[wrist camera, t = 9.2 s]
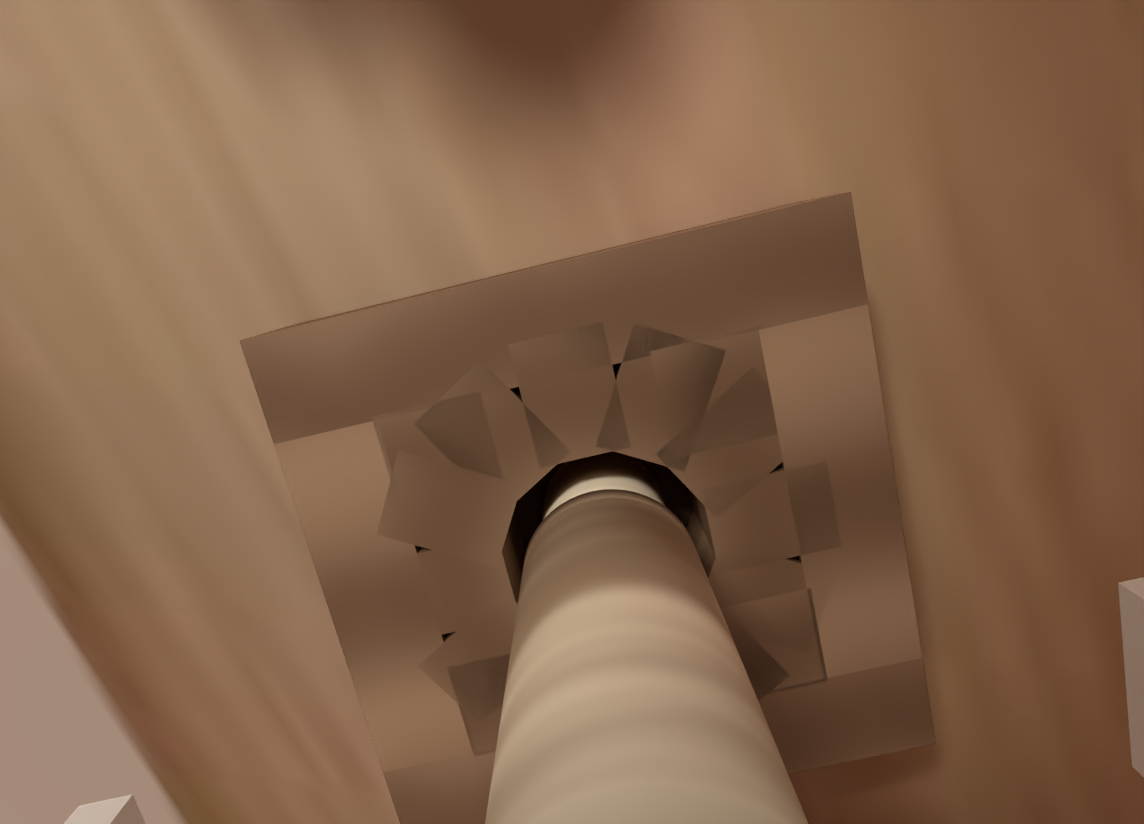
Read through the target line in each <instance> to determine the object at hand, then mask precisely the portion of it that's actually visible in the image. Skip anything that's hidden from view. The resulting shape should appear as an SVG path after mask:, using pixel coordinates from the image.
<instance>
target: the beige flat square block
mask: <svg viewBox="0 0 1144 824" xmlns="http://www.w3.org/2000/svg"><path fill="white" fill-rule="evenodd" d="M240 344H241V347H242V350H243V353H244V356H245V359H246V362H247V365H248V368H249V371H250V374H251V377H252V380H253V383H254V386H255V389H256V392H257V395H258V398H259V401H260V404H261V407H262V410H263V413H264V416H265V419H266V422H267V425H268V428H269V431H270V434H271V437H272V440H273V443H274V446H275V449H276V452H277V455H278V458H279V461H280V464H281V467H282V470H283V473H284V476H285V479H286V482H287V485H288V488H289V491H290V494H291V497H292V500H293V503H294V506H295V509H296V512H297V515H298V518H299V521H300V524H301V527H302V530H303V533H304V536H305V539H306V542H307V545H308V548H309V551H310V554H311V557H312V560H313V563H314V566H315V569H316V572H317V575H318V578H319V581H320V584H321V587H322V590H323V593H324V596H325V599H326V602H327V605H328V608H329V611H330V614H331V617H332V620H333V623H334V626H335V629H336V632H337V635H338V638H339V641H340V644H341V647H342V650H343V653H344V656H345V659H346V662H347V665H348V668H349V671H350V674H351V677H352V680H353V683H354V686H355V689H356V692H357V695H358V698H359V701H360V704H361V707H362V710H363V713H364V716H365V719H366V722H367V725H368V728H369V731H370V734H371V737H372V740H373V743H374V746H375V749H376V752H377V755H378V758H379V761H380V764H381V767H382V770H383V773H384V776H385V779H386V782H387V785H388V788H389V791H390V794H391V797H392V800H393V803H394V806H395V809H396V812H397V815H398V818H399V821H400V824H485V820H486V813H487V807H488V800H489V793H490V787H491V780H492V773H493V767H494V760H495V753H496V746H497V740H498V733H499V726H500V720H501V713H502V706H503V700H504V693H505V686H506V680H507V673H508V666H509V660H510V653H511V646H512V639H513V633H514V626H515V619H516V613H517V606H518V599H519V593H520V586H521V579H522V573H523V566H524V559H525V555H526V551H527V549H526V548H525V547H524V545H523V541H522V537H521V534H520V530H519V526H518V522H517V519H516V515H515V511H514V509H515V505H516V502H517V500H519V499H520V498H521V497H522V496H523V495H524V494H525V493H526V492H527V491H528V490H530V489H531V488H532V487H533V486H534V485H535V484H536V483H537V482H538V481H539V480H540V479H542V478H543V477H544V476H545V475H546V474H547V473H548V472H549V471H550V470H551V469H553V468H554V467H555V466H556V465H557V464H559V463H564V462H568V461H572V460H577V459H581V458H585V457H590V456H594V455H598V454H603V453H607V452H611V451H614V452H618V453H621V454H625V455H628V456H632V457H635V458H639V459H642V460H646V461H649V462H653V463H656V464H660V465H663V466H666V467H668V468H669V469H670V470H671V471H672V472H673V473H674V474H675V475H676V476H677V477H678V478H679V479H680V480H681V481H682V483H683V484H684V485H685V486H686V487H687V488H688V489H689V492H690V496H691V501H692V506H693V510H692V513H691V516H690V519H689V522H688V524H687V527H686V529H687V531H688V532H689V534H690V536H691V539H692V541H693V543H694V546H695V548H696V550H697V553H698V555H699V558H700V560H701V563H702V565H703V568H704V570H705V572H706V575H707V577H708V580H709V582H710V585H711V587H712V590H713V592H714V594H715V597H716V599H717V602H718V604H719V607H720V609H721V612H722V614H723V616H724V619H725V621H726V624H727V626H728V629H729V631H730V633H731V636H732V638H733V641H734V643H735V646H736V648H737V651H738V653H739V655H740V658H741V660H742V663H743V665H744V668H745V670H746V673H747V675H748V677H749V680H750V682H751V685H752V687H753V690H754V692H755V695H756V697H757V699H758V702H759V704H760V707H761V709H762V712H763V714H764V717H765V719H766V721H767V724H768V726H769V729H770V731H771V734H772V736H773V739H774V741H775V743H776V746H777V748H778V751H779V753H780V756H781V758H782V761H783V763H784V765H785V768H786V770H787V773H788V774H793V773H798V772H802V771H807V770H812V769H817V768H822V767H827V766H831V765H836V764H841V763H846V762H851V761H856V760H860V759H865V758H870V757H875V756H880V755H885V754H889V753H894V752H899V751H904V750H909V749H914V748H918V747H923V746H928V745H933V744H936V742H935V736H934V729H933V723H932V716H931V710H930V703H929V697H928V690H927V684H926V677H925V671H924V664H923V658H922V651H921V645H920V638H919V632H918V625H917V619H916V612H915V606H914V599H913V593H912V586H911V580H910V573H909V567H908V561H907V554H906V548H905V541H904V535H903V528H902V522H901V515H900V509H899V502H898V496H897V489H896V483H895V476H894V470H893V463H892V457H891V450H890V444H889V437H888V431H887V424H886V418H885V411H884V405H883V398H882V392H881V385H880V379H879V372H878V366H877V359H876V353H875V346H874V340H873V333H872V327H871V320H870V314H869V307H868V301H867V294H866V288H865V281H864V275H863V268H862V262H861V255H860V249H859V242H858V236H857V229H856V223H855V216H854V210H853V203H852V197H851V192H848V193H843V194H838V195H833V196H827V197H822V198H817V199H811V200H806V201H801V202H797V203H793V204H789V205H785V206H781V207H777V208H772V209H768V210H764V211H760V212H756V213H752V214H748V215H744V216H740V217H735V218H731V219H727V220H723V221H719V222H715V223H711V224H707V225H703V226H698V227H694V228H690V229H686V230H682V231H678V232H674V233H670V234H666V235H661V236H657V237H653V238H649V239H645V240H641V241H637V242H633V243H629V244H624V245H620V246H616V247H612V248H608V249H604V250H600V251H596V252H592V253H587V254H583V255H579V256H575V257H571V258H567V259H563V260H559V261H554V262H550V263H546V264H542V265H538V266H534V267H530V268H526V269H522V270H517V271H513V272H509V273H505V274H501V275H497V276H493V277H489V278H485V279H480V280H476V281H472V282H468V283H464V284H460V285H456V286H452V287H448V288H443V289H439V290H435V291H431V292H427V293H423V294H419V295H415V296H411V297H406V298H402V299H398V300H394V301H390V302H386V303H382V304H378V305H374V306H369V307H365V308H361V309H357V310H353V311H349V312H345V313H341V314H337V315H332V316H328V317H324V318H320V319H316V320H312V321H308V322H304V323H299V324H295V325H292V326H288V327H285V328H281V329H278V330H274V331H271V332H267V333H264V334H261V335H257V336H254V337H250V338H247V339H243V340H240Z"/></svg>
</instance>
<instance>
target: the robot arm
mask: <svg viewBox="0 0 1144 824" xmlns="http://www.w3.org/2000/svg"><path fill="white" fill-rule="evenodd" d="M1118 587H1119V601H1120V614H1121V627H1122V641H1123V654H1124V667H1125V681H1126V694H1127V707H1128V721H1129V734H1130V747H1131V761H1132V767H1133V768H1134V769H1135V770H1136V771H1137V772H1138V773H1139V774H1141V775H1142V776H1143V777H1144V577H1142V578H1138V579H1133V580H1128V581H1124V582H1119V583H1118ZM64 824H145V821H144V819H143V817H142V815H141V812H140V810H139V808H138V805H137V803H136V801H135V799H134V796H133V794H132V795H127V796H123V797H118V798H113V799H109V800H104V801H100V802H95V803H90V804H85V805H81V806H78V807H77V809H76V810H75V811H74V812H73V814H72V815H71V816H70V817H69V818H68V820H67V821H66V822H65V823H64Z"/></svg>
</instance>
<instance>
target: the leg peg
mask: <svg viewBox="0 0 1144 824" xmlns="http://www.w3.org/2000/svg"><path fill="white" fill-rule="evenodd" d="M485 824H808V822H807V819H806V817H805V814H804V812H803V809H802V807H801V804H800V802H799V800H798V797H797V795H796V792H795V790H794V787H793V785H792V782H791V780H790V778H789V775H788V773H787V770H786V768H785V765H784V763H783V761H782V758H781V756H780V753H779V751H778V748H777V746H776V743H775V741H774V739H773V736H772V734H771V731H770V729H769V726H768V724H767V721H766V719H765V717H764V714H763V712H762V709H761V707H760V704H759V702H758V699H757V697H756V695H755V692H754V690H753V687H752V685H751V682H750V680H749V677H748V675H747V673H746V670H745V668H744V665H743V663H742V660H741V658H740V655H739V653H738V651H737V648H736V646H735V643H734V641H733V638H732V636H731V633H730V631H729V629H728V626H727V624H726V621H725V619H724V616H723V614H722V612H721V609H720V607H719V604H718V602H717V599H716V597H715V594H714V592H713V590H712V587H711V585H710V582H709V580H708V577H707V575H706V572H705V570H704V568H703V565H702V563H701V560H700V558H699V555H698V553H697V550H696V548H695V546H694V543H693V541H692V539H691V536H690V534H689V532H688V531H687V529H686V528H685V526H684V525H683V523H682V522H681V521H680V520H679V518H678V517H677V516H676V515H675V514H674V513H673V512H672V511H670V510H669V509H668V508H667V507H666V505H665V502H664V499H663V496H662V494H661V491H660V488H659V486H658V483H657V481H656V479H655V478H654V476H653V474H652V473H651V472H650V471H649V469H648V468H647V467H646V466H645V465H644V464H643V463H641V462H640V461H639V460H637V459H636V458H634V457H632V456H628V455H625V454H621V453H618V452H614V451H611V452H607V453H603V454H598V455H594V456H590V457H585V458H581V459H577V460H572V461H568V462H565V463H564V464H563V465H562V466H561V467H560V468H559V469H558V470H557V471H556V472H555V474H554V475H553V477H552V478H551V480H550V482H549V484H548V486H547V489H546V493H545V497H544V505H543V515H542V522H541V523H540V525H539V526H538V527H537V529H536V530H535V532H534V534H533V536H532V538H531V540H530V542H529V545H528V547H527V551H526V555H525V559H524V566H523V573H522V579H521V586H520V593H519V599H518V606H517V613H516V619H515V626H514V633H513V639H512V646H511V653H510V660H509V666H508V673H507V680H506V686H505V693H504V700H503V706H502V713H501V720H500V726H499V733H498V740H497V746H496V753H495V760H494V767H493V773H492V780H491V787H490V793H489V800H488V807H487V813H486V820H485Z"/></svg>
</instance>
